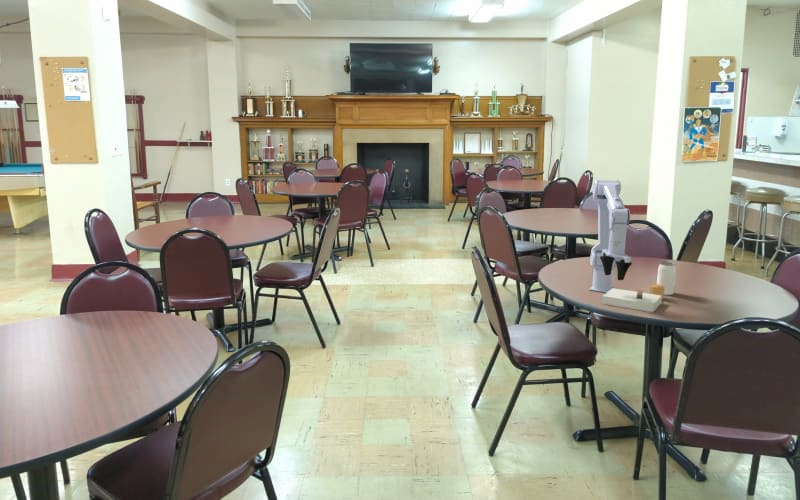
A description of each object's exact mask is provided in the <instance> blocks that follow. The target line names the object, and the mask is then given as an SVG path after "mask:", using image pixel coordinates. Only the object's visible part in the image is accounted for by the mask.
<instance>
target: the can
mask: <svg viewBox="0 0 800 500" xmlns="http://www.w3.org/2000/svg"><path fill="white" fill-rule="evenodd" d="M657 268H658V270H657V277H656V284H658V285H663V286H664V296H672V295H674V292H675V283H676V275H677V274H676V273H677V267H676V263H673V262H670V261H669V262H668V261H663V262H660V263H659V265H658V267H657Z"/></svg>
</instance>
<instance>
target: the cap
mask: <svg viewBox="0 0 800 500" xmlns="http://www.w3.org/2000/svg"><path fill="white" fill-rule="evenodd" d="M649 289H650V290H649V294H655V295H661V296H662V300H661V301H663V300H664V296H665V295H664V286H663V285H658V284H657V283H656V284H655V283H654V284H651V285H650V288H649Z"/></svg>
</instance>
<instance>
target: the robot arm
mask: <svg viewBox="0 0 800 500" xmlns="http://www.w3.org/2000/svg"><path fill="white" fill-rule="evenodd" d="M621 183H622V182H621V181H620V180H619V179H617V180H616V179H615V180H614V179H611V180H609V179H595V180H594V181H593V185H592V198H593V200H592V201H593V202H594V203H596V205H597V211H598V212H597V216H598V217H597V224H598V225H597V234H598V235H597V241H598V242H597V244H595V245H594V246H593V247H592V248H591V250H590V256H589V262H590V266H591V267H592V268H593V273H592V286H591V287H589V288H588V290H589V291H594V292H601V293H605V294H606V293H607V292H608V291H610V290H611V289H612V288H616V287H615V286H614V278H615V277H614V275H615V272H614V269H615V268H617V275H616V276H617V280H618V281H624V280H625V277H626V274H627V272H628V270H629V268H630V267H631V266H632V263H633V262H632V257H631V256H629V255H627V253H625V251H626V239H627V231H628V230H627V228H628V225H629V223H630V219H631V212H630V209H629V208H626V207H625V204H624V202H623V200H622V199H621V197H619V196H620V194H621V190H622V184H621Z"/></svg>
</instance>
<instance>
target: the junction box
mask: <svg viewBox="0 0 800 500" xmlns="http://www.w3.org/2000/svg"><path fill="white" fill-rule="evenodd" d="M662 301H663V300H662V296H661V295H655V294H650V292H649V293H648V292H644V290H643V289H637V290H636V291H635V290H628V289H624V288H623V289H622V288H616V287H615V288H612V289H611V290H610V291H608V292H607V293H606V292H605V294H603V295H602V297H601V304H603V305H608V306H613V307H617V308H618V307H619V308H625V309H632V310H636V311H642V312H643V311H644V312H648V313H653V312H654V311H656V309H658V307H659V306H660V305H661V304H662Z"/></svg>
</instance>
